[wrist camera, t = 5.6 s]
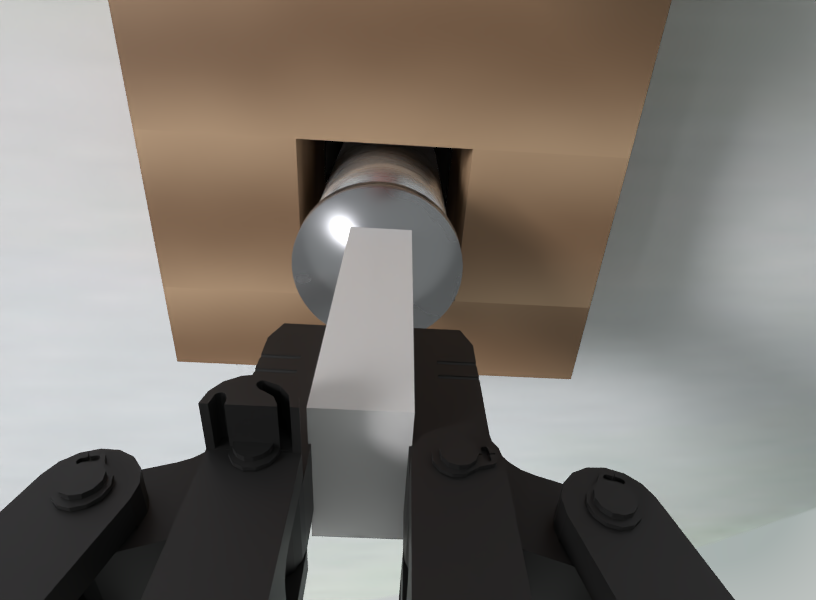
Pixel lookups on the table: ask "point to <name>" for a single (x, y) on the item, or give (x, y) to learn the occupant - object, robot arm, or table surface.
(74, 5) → the table surface
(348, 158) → the plug grey
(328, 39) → the socket block
